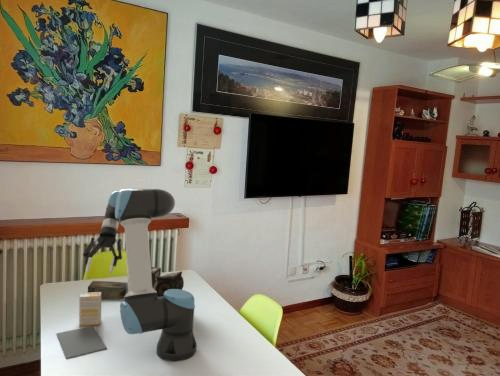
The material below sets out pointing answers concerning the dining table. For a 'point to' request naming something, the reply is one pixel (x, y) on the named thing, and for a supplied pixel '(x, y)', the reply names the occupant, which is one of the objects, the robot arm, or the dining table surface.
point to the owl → (169, 283)
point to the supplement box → (90, 308)
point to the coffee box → (155, 276)
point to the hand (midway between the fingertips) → (98, 271)
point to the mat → (80, 341)
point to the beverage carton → (109, 289)
